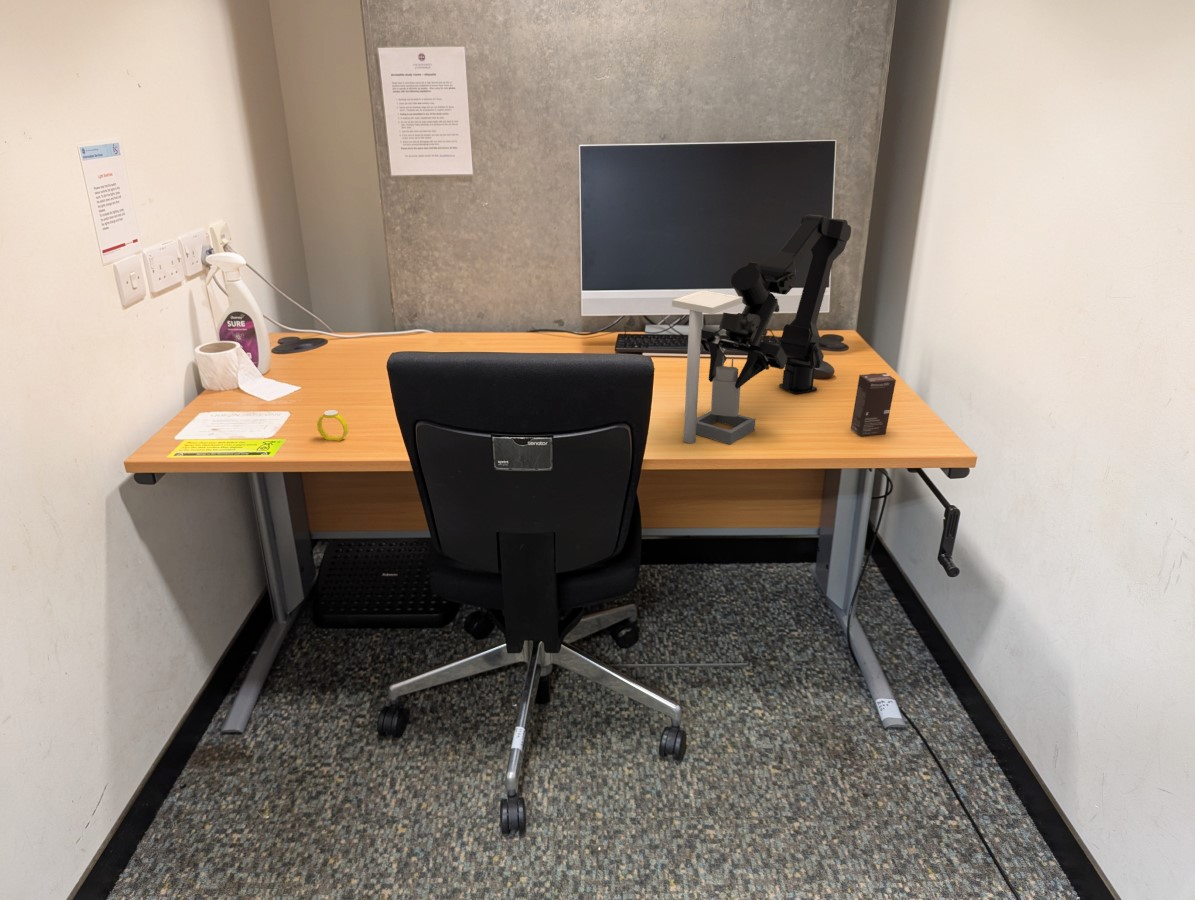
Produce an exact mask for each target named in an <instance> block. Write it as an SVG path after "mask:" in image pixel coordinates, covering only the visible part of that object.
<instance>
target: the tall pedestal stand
mask: <svg viewBox="0 0 1195 900" xmlns="http://www.w3.org/2000/svg"><path fill="white" fill-rule="evenodd" d="M742 298H743V297H740V296H738V295H732V294H726V293H721V292H716V291H710V290H704V289H702V290H698V291H696V292H693V293H692V292H691V293H690V294H686V295H684V296H679V297H677V298H674V299H671V307H672V308H673V307H674V308H679V309H683V310H688V311H689V315H688V316H689V317H688V334H687V335H688V336H687V337H688V338H687V339H688V340H687V356H686V357H687V358H686V377H685V378H686V380H685V398H684V400H685V404H684V420H683V421H684V423H683V440H682V441H683V442H684V443H685V444H695V443H696V438H697V436H701V437H704V438H708V439H710V440H714V441H717V442H720V443H724V444H727V445H729V446H730V445H732V444H734V443H736V442H737V441H739V440H741V439H743V438H744V437H745V436H747V435H749V434H750V433H752V432H754V431H755V430H756V421H757V419H756V418H752V417H750V416H746V415H742V414H740V413H738V416H736V417H731V416H722V415H713V414H711V410H710V411H708V412H706V413H704V414H702V415H700V416H698V403H699V402H698V401H699V400H698V399H699V384H700V383H699V381H700V368H701V367H700V363H701V349H702V347H701V330H702V328H703V327H702V326H703V313H704V314H709V315H714V314H717V313H720V312H722V311H725V310H727V309H731V308H733V307H735V306H738V305H741V304H743V303H742ZM717 422H718V423H721V424H724V425H728V426H730V427H731V426H732V427H733V428H731V429H727V428H723V427H721V426H716V425H714V424H715V423H717Z"/></svg>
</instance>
